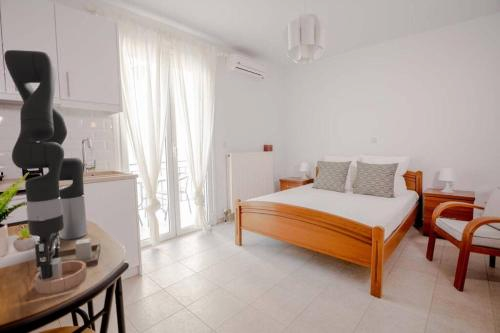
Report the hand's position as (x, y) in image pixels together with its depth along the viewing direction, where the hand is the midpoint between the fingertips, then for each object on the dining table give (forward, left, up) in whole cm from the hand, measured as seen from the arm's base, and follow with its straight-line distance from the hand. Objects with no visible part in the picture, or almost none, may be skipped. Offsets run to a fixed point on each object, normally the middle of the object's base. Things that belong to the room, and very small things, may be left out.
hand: (51, 270), depth 70 cm
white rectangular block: (-13, +6, -4) cm, 15 cm away
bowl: (0, +2, -4) cm, 5 cm away
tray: (-13, +3, -4) cm, 14 cm away
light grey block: (0, 0, -4) cm, 4 cm away
